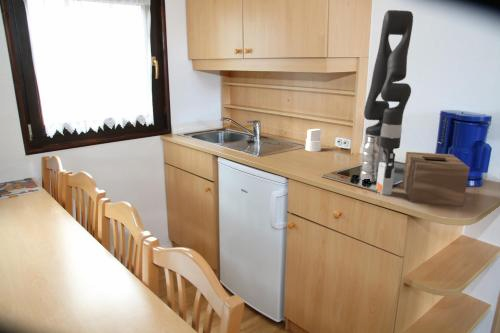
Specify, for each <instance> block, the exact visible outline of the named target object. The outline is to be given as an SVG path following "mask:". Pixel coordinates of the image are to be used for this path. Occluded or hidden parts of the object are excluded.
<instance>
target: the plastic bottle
mask: <svg viewBox="0 0 500 333" xmlns="http://www.w3.org/2000/svg"><path fill="white" fill-rule="evenodd" d="M367 141H368V143H367V144H366V145H365V146H364V145H363V149H362V154H363V155H362V162H363V167H362V166H361V172H360V180H361V181H362V180H364V179H370V181H371V182H370V183H374V182H376V181H377V180H376V179H377V171H376V161H377V156H378V152H379V148H378V146H377V144H376V142H377V137H368V140H367Z"/></svg>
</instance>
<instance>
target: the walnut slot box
mask: <svg viewBox="0 0 500 333" xmlns="http://www.w3.org/2000/svg"><path fill="white" fill-rule="evenodd" d="M404 160H405V162H404V166H403V168H404V169H403V174H402V175H403V176H402V183H401V186H402V188H403V190H404V192H405V194H406V195H407V197H408V199H409V201H410V202H411V203H416V204H417V203H419V204H433V205H440V206H441V205H443V206H451V207H452V206H453V207H455V206H456V207H463V206H464V202H465V195H466V191H467V185H468V180H469V175H470V168H471V167H470V166H468V165H467V164H466V163H464V162H463V161H462V160H461V159H459V158H458V157H456V156H455V155H454V154H451V153H450V154H449V153H432V152H415V151H406V152H405V159H404Z"/></svg>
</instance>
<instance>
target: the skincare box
mask: <svg viewBox="0 0 500 333" xmlns="http://www.w3.org/2000/svg"><path fill="white" fill-rule="evenodd" d="M389 166H391V164H389ZM385 167H386V164H385V163H384V162H379V168H378V170H377V176H376V179H377V180H376V188H375V190H376V189H378V190H379V191H380V193H379V194H380V195H381V196H382V195H383V196H385V195H387V196H389V195H392V193H393V185H394V178H395V168H396V166H395V165H394V169H392V172H391V178H390V179H389V178H385V170H386V168H385Z"/></svg>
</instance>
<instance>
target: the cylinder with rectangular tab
mask: <svg viewBox="0 0 500 333" xmlns="http://www.w3.org/2000/svg"><path fill="white" fill-rule="evenodd" d="M321 135H322V129H320V128H313V129H307V135H306V139H305V151H308V152H320V151H321V150H322V140H321V137H322V136H321Z"/></svg>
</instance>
